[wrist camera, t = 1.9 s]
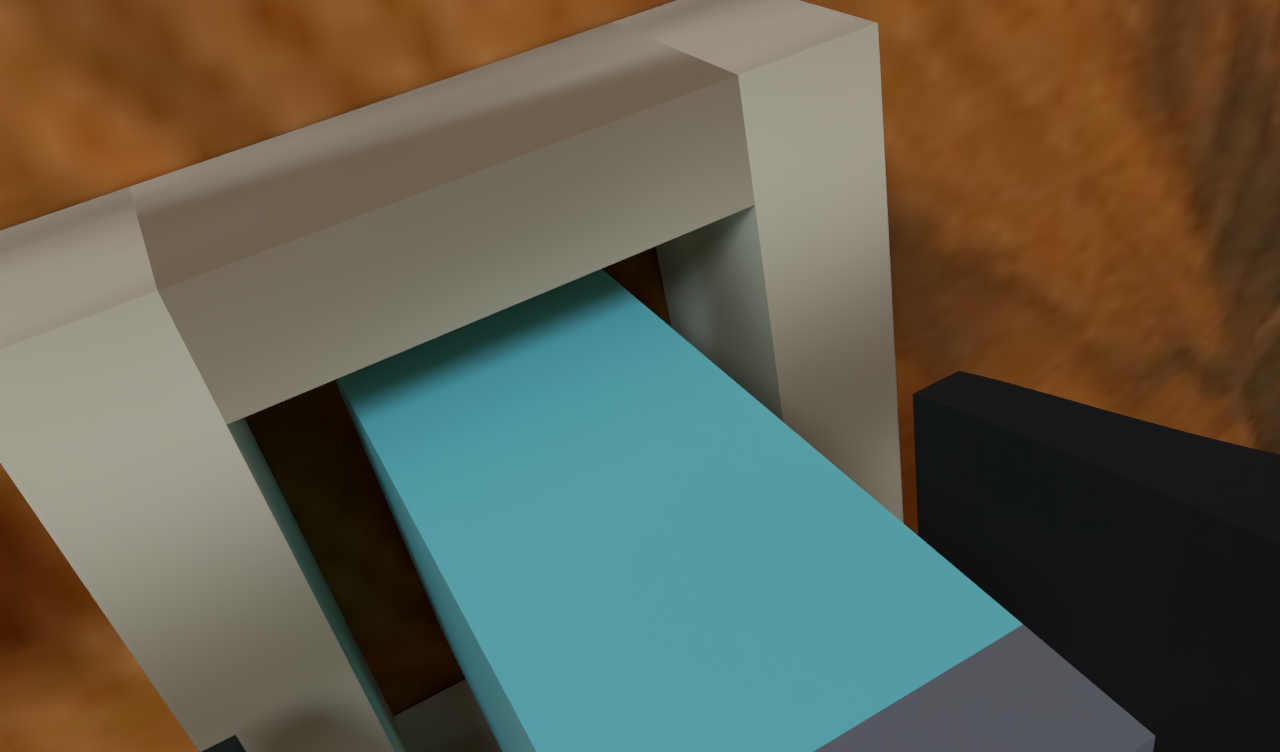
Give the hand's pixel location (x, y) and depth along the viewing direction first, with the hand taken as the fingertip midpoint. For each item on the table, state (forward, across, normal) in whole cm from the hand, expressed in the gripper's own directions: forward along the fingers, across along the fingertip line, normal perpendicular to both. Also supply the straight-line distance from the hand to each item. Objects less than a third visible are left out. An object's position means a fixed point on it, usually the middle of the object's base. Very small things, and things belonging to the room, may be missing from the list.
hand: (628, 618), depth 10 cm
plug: (+3, 0, 0) cm, 3 cm away
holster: (+3, 0, 0) cm, 3 cm away
